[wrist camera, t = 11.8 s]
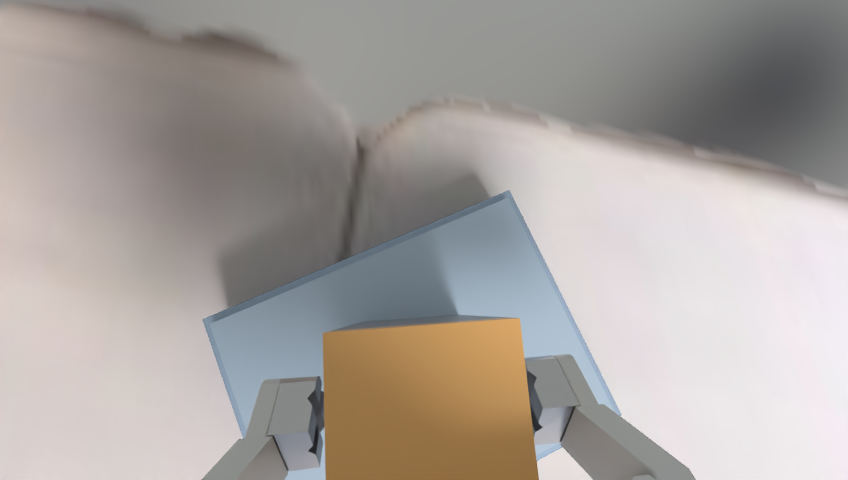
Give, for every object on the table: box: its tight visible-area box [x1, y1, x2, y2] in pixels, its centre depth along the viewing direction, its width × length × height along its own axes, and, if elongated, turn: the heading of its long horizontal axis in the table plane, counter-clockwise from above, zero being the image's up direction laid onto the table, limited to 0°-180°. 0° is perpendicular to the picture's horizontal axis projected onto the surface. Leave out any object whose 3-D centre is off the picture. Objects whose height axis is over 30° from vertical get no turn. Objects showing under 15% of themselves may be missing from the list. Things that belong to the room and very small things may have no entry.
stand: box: [203, 190, 621, 480], centre depth 18 cm, size 16×12×3 cm
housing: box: [323, 315, 539, 480], centre depth 12 cm, size 4×4×9 cm
